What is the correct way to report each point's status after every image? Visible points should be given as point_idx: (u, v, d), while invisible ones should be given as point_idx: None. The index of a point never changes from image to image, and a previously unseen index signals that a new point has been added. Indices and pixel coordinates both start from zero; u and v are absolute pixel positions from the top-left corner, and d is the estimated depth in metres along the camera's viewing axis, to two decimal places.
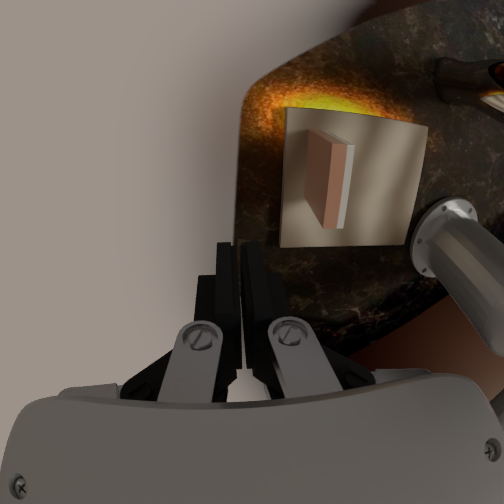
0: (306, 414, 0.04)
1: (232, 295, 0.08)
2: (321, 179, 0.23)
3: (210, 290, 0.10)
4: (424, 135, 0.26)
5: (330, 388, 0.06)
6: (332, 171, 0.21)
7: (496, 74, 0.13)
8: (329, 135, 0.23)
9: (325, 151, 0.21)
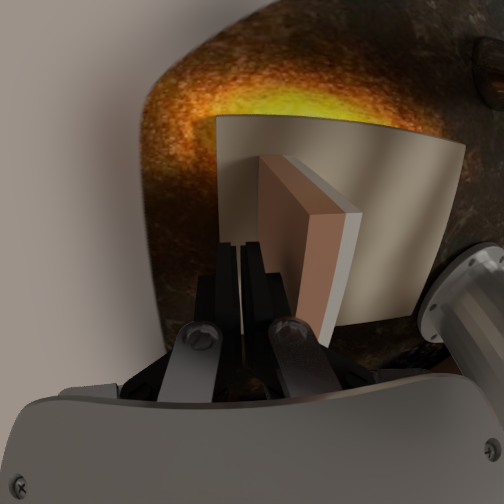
0: (306, 414, 0.04)
1: (232, 295, 0.08)
2: (284, 273, 0.11)
3: (211, 290, 0.10)
4: (459, 158, 0.15)
5: (330, 388, 0.06)
6: (308, 274, 0.09)
7: None
8: (299, 173, 0.12)
9: (292, 221, 0.10)
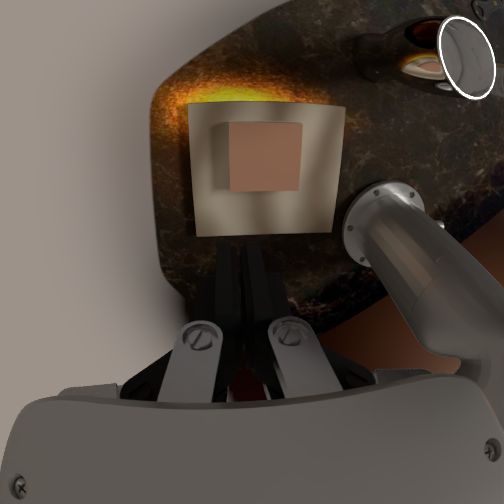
0: (306, 414, 0.04)
1: (232, 295, 0.08)
2: (283, 156, 0.27)
3: (210, 290, 0.10)
4: (341, 116, 0.27)
5: (330, 388, 0.06)
6: (301, 144, 0.27)
7: (400, 35, 0.15)
8: (261, 121, 0.26)
9: (287, 132, 0.26)
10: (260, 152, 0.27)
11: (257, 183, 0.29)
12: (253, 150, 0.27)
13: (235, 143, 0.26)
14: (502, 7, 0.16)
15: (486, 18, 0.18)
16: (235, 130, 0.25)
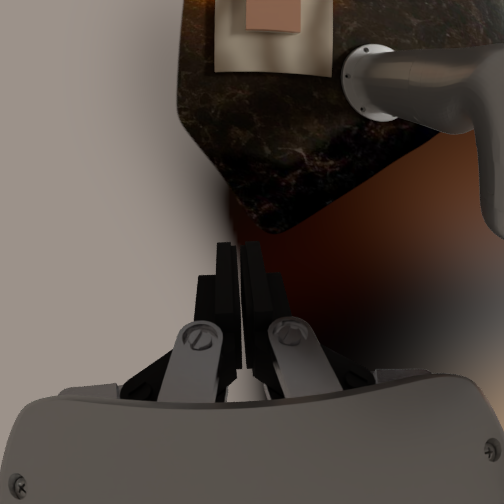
0: (306, 414, 0.04)
1: (232, 295, 0.08)
2: (287, 7, 0.27)
3: (210, 290, 0.10)
4: None
5: (330, 388, 0.06)
6: (300, 1, 0.26)
7: None
8: None
9: None
10: (269, 3, 0.26)
11: (267, 23, 0.28)
12: (264, 2, 0.26)
13: None
14: None
15: None
16: None
